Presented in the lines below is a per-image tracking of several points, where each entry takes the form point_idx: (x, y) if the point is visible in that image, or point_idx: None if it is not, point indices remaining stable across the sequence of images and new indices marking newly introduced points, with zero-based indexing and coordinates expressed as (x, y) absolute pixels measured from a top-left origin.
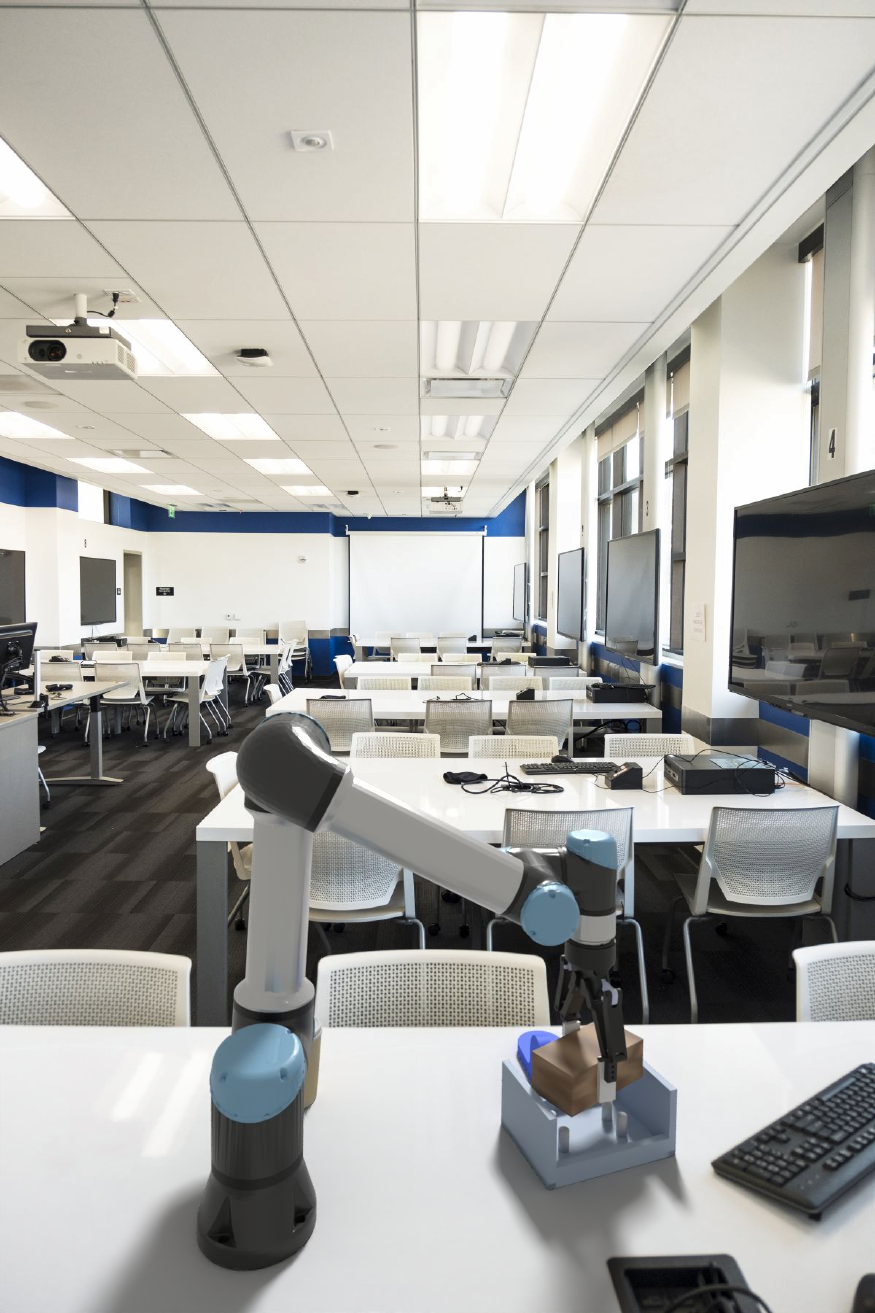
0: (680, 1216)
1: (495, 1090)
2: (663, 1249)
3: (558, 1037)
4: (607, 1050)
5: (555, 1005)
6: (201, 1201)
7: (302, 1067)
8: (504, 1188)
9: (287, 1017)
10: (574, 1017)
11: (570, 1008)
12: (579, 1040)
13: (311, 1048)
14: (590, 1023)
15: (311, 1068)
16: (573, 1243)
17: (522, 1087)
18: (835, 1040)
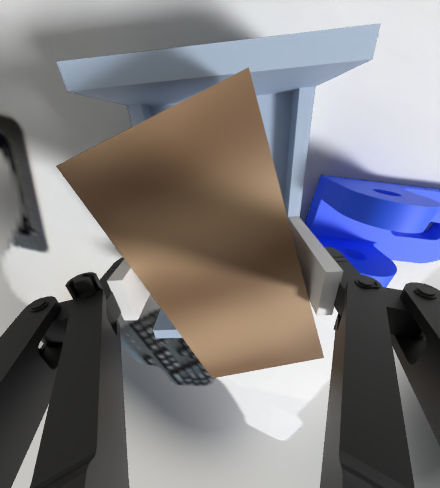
0: (92, 236)
1: (391, 104)
2: (44, 196)
3: (427, 261)
4: (42, 321)
5: (436, 296)
6: None
7: None
8: (146, 2)
9: None
10: (339, 314)
11: (343, 338)
12: (253, 275)
13: None
14: (315, 329)
15: None
16: (36, 84)
17: (222, 43)
18: (273, 424)
